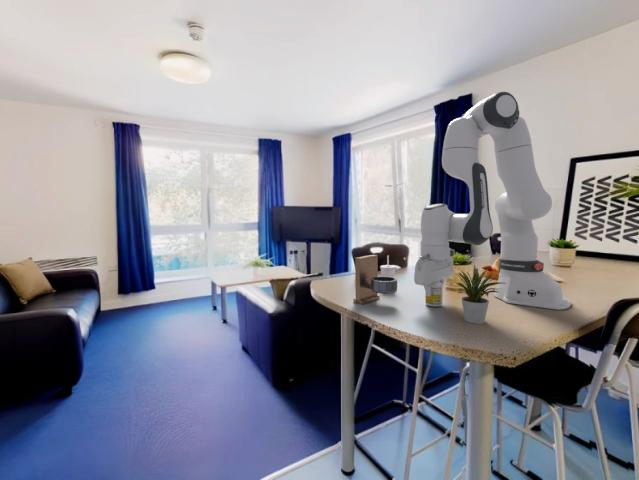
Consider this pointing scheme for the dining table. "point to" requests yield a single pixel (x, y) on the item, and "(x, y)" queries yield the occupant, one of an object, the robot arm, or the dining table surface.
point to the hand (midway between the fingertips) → (434, 293)
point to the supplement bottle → (435, 294)
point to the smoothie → (388, 269)
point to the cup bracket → (371, 280)
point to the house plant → (476, 296)
